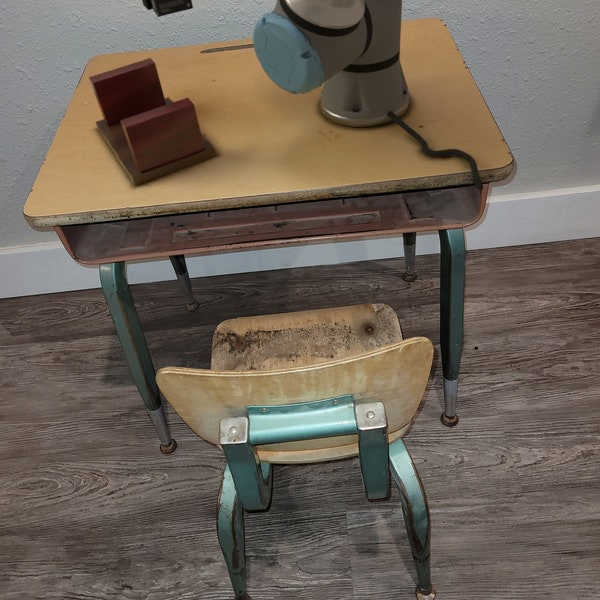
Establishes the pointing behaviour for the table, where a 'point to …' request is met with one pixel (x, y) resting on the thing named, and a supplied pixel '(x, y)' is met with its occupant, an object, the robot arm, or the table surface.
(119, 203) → the table surface
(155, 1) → the small box
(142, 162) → the book stand
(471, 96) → the table surface
